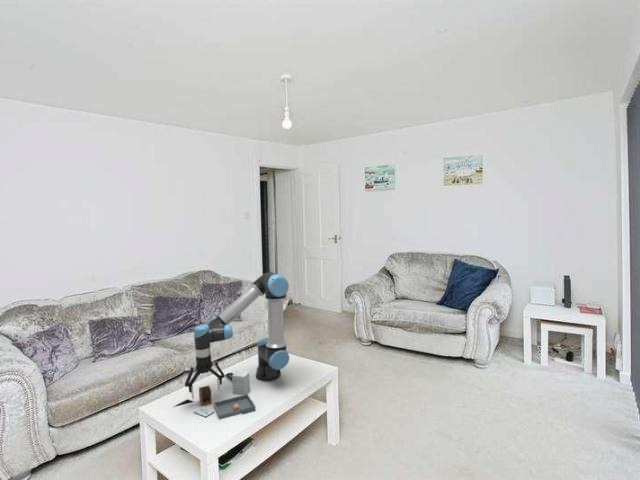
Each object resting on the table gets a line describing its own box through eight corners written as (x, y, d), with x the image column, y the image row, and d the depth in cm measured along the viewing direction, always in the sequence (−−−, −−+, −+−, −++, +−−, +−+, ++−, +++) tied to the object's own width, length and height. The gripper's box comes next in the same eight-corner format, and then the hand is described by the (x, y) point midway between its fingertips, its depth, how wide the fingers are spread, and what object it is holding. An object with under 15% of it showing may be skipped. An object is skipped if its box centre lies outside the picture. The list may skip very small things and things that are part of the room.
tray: (247, 398, 197) (247, 394, 196) (255, 410, 184) (255, 405, 184) (213, 407, 188) (213, 402, 188) (219, 420, 176) (219, 415, 176)
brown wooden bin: (209, 399, 196) (208, 385, 196) (211, 405, 191) (211, 390, 190) (199, 402, 194) (198, 387, 193) (201, 407, 188) (200, 392, 188)
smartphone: (196, 403, 193) (196, 402, 193) (169, 419, 179) (169, 417, 179) (187, 400, 197) (187, 398, 197) (160, 415, 183) (159, 413, 183)
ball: (240, 410, 184) (239, 405, 186) (239, 407, 182) (238, 402, 184) (234, 412, 183) (233, 406, 186) (233, 409, 181) (232, 403, 184)
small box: (250, 390, 206) (249, 372, 205) (245, 395, 200) (244, 376, 200) (237, 389, 208) (236, 371, 207) (232, 393, 202) (231, 375, 202)
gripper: (225, 347, 200) (228, 385, 201) (177, 358, 188) (180, 397, 190) (228, 352, 193) (231, 390, 195) (178, 363, 182) (182, 404, 183)
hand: (206, 394), depth 192 cm, fingers open, 13 cm apart
